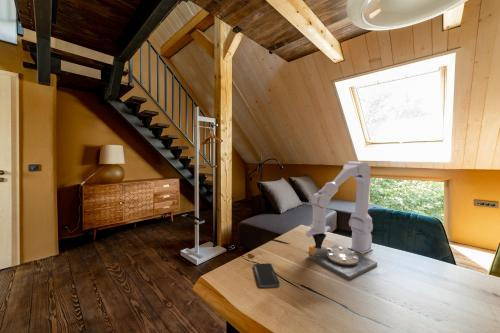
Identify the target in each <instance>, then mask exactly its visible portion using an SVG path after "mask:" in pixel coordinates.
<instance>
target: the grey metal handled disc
mask: <svg viewBox="0 0 500 333" xmlns="http://www.w3.org/2000/svg"><path fill="white" fill-rule="evenodd" d="M342 248H343V247H342V246H339V248H329V247H325V246H324V247H323V246H321V247H317V246H315V245H313V244H309V245H308V255H309V254H312V255H321V256H326V257H327V258H328V259H329V260H330V261H332V262H334V263H337V264H340V265H347V266H351V265H356V264H357V263H358V260H359V257H358V255H359V254H358V253H357V251H354V250H349V249H346V248H344V249H342ZM357 254H358V255H357Z"/></svg>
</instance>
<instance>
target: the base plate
mask: <svg viewBox="0 0 500 333" xmlns="http://www.w3.org/2000/svg"><path fill="white" fill-rule="evenodd" d="M339 247H340V246H339V245H337V244H335V245H333V246H330V247H328V248H339ZM342 249H345V248H343V247H342ZM356 254H357V255H358V257H359V260H358V263H357V264H356V265H351V266H347V265H340V264H337V263H334V262H332V261H330V260H329V259H328V258H327V257H326V256H321V255H312V254H309V253H308V259H310V260H311V261H312V262H315V263H317V264H319V265H320V266H322V267H323V268H326V269H327V270H330V271H331V272H333V273H335V274H337V275H339V276H341V277H342V278H345V279H347V280H348V281H351V280H353V279H355V278H357V277H358V276H360V275H362V274H365V273H367V272H368V271H370V270H371V269H373V268H376V267H378V262H377V261H375V260H372V259H369V258H368V257H365V256H364V255H360V254H359V253H356Z"/></svg>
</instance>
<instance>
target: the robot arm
mask: <svg viewBox="0 0 500 333" xmlns="http://www.w3.org/2000/svg"><path fill="white" fill-rule="evenodd" d="M342 168H343V169H342V170H340V172H339V173H338V174H337V176H336V177H335V178H334V179H333V180H332V181H328V182H326V183H325V185H324V186H323V187H322V188H321V189H320V190H318V192H316V193H313V194H312V196H311V198H310V200H309V201H310V204H311V206H312V226H311V227H310V229H309V230H306V231H305V236H306V237H308V238H311V237H312V238H313V240H314V241H313V242H314V244H315V245H314V246H317V247H323V246H322V245H323V242H324V241H325V239H326V237H327V234H326V232H331V231H332V230H331V226H329V225H326V224H327V222H326V221H327V220H326V219H327V218H326V216H327V215H326V214H327V207H328V206H329V205H330V201H331V199H332V197H334V195H336V193H337V192H339V187H340V186H341V185H342V184H343V183H344V182H345V181H346V180H348V179H349V178H351V177H354V178H355V180H356V181H357V183H356V196H355V207H354V209H355V211H354V212H351V214H350V218H349V221H348V225H349V227H350V228H351V231H352V232H351V245H349V246H348V247H347V248H348V250H349V249H350V250H351V251H355V252H356V253H358V254H359V253H360V254H362V255H363V254H367V253H368V252H371V251H373V250H374V248H373V247H372V243H373V235H372V234H371V233H372V232H373V229H374V224H373V218H372V217H371V216H370V214H369V213H368V211H369V209H368V208H369V201H370V200H369V199H370V198H369V197H370V187H371V169H372V168H371V165H370V164H369V163H368V162H366V161H352V160H349V161H347V162H346V163H345V164H344V165H343V167H342Z"/></svg>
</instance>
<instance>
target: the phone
mask: <svg viewBox="0 0 500 333" xmlns="http://www.w3.org/2000/svg"><path fill="white" fill-rule="evenodd" d="M252 267H253V271H254V276H255V279H256V283H257V288H259V289H269V288H271V289H272V288H279V287H280V281H279V278H278V276H277V274H276V271H275V269H274V266H273V264H272V263H254V264H253V266H252Z"/></svg>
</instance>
